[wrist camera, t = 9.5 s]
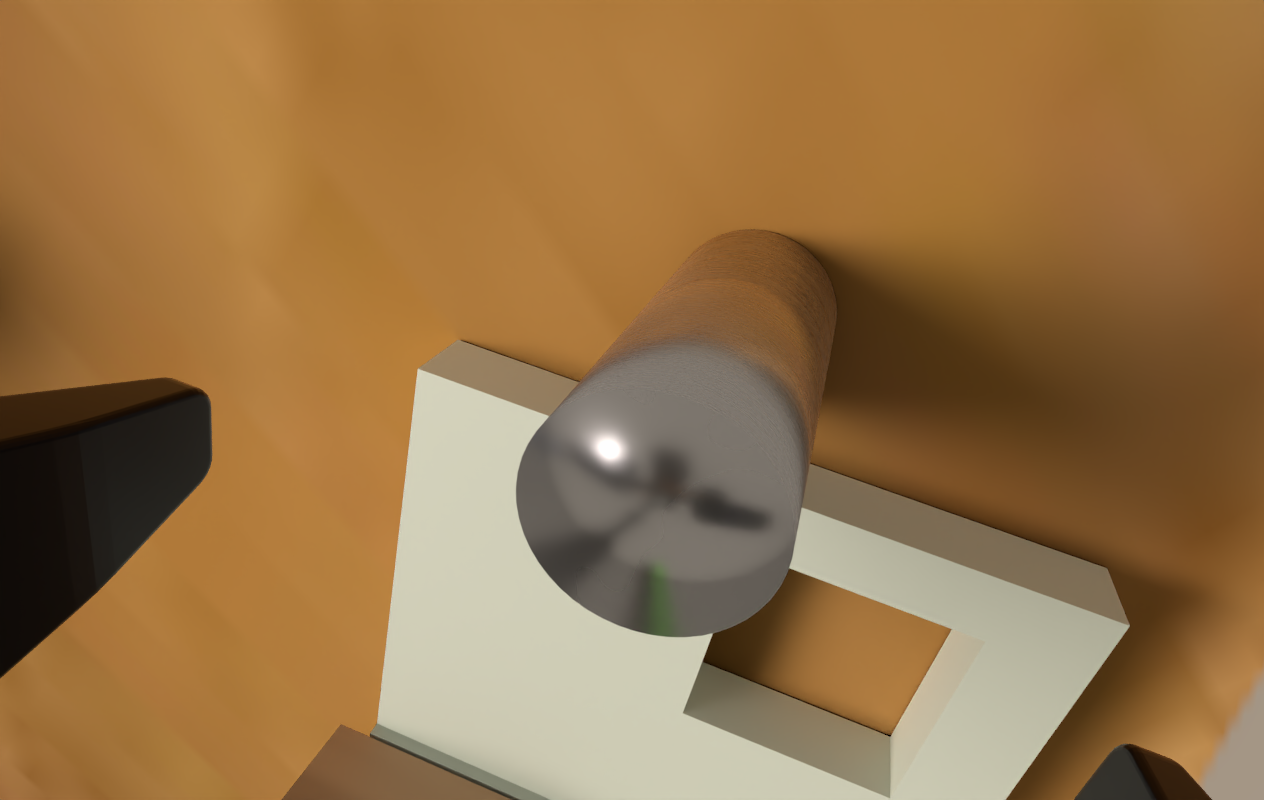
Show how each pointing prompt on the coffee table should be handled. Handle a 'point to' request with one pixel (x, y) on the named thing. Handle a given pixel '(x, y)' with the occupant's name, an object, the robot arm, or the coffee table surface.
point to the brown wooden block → (378, 774)
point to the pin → (688, 444)
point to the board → (705, 637)
